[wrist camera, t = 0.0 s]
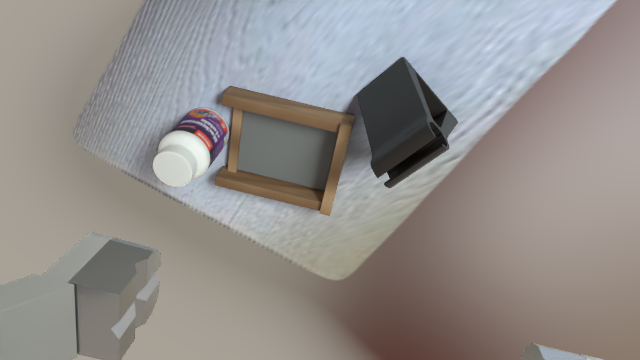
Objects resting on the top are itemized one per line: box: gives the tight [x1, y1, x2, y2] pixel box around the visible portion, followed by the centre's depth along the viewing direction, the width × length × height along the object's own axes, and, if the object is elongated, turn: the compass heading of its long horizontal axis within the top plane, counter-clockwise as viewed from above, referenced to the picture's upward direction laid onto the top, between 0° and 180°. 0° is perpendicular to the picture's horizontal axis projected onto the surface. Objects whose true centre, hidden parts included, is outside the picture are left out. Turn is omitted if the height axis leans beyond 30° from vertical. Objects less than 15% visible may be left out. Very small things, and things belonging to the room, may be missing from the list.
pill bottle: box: [153, 108, 229, 187], centre depth 49 cm, size 5×5×10 cm
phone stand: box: [357, 57, 458, 188], centre depth 43 cm, size 9×6×12 cm, turn 43°
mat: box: [237, 110, 338, 190], centre depth 53 cm, size 9×11×1 cm
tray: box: [215, 86, 354, 216], centre depth 51 cm, size 11×14×3 cm
